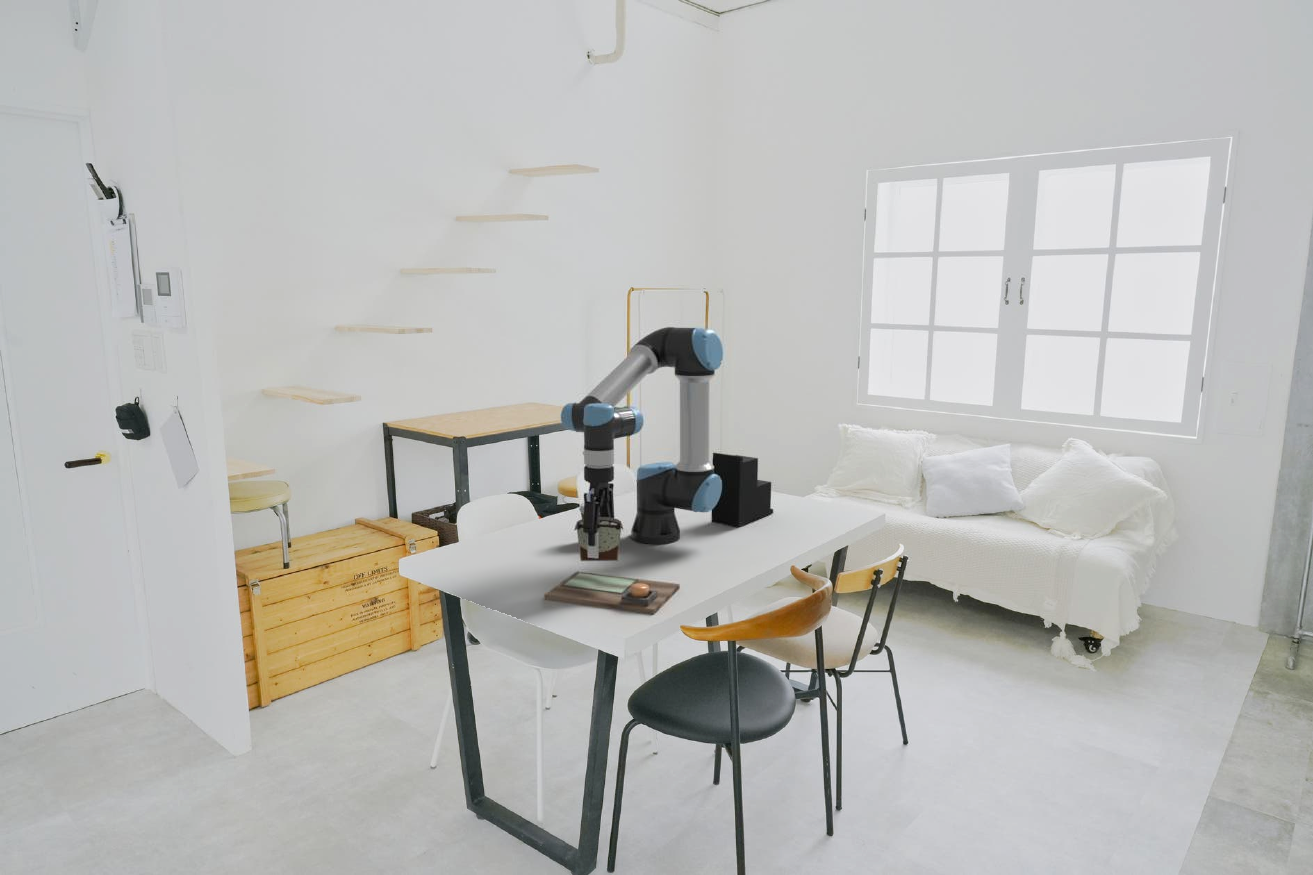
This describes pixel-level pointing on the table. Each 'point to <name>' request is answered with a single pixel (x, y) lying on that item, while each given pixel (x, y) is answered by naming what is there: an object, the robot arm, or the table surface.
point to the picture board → (612, 592)
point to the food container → (601, 539)
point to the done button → (639, 590)
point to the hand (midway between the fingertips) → (599, 553)
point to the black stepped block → (740, 491)
